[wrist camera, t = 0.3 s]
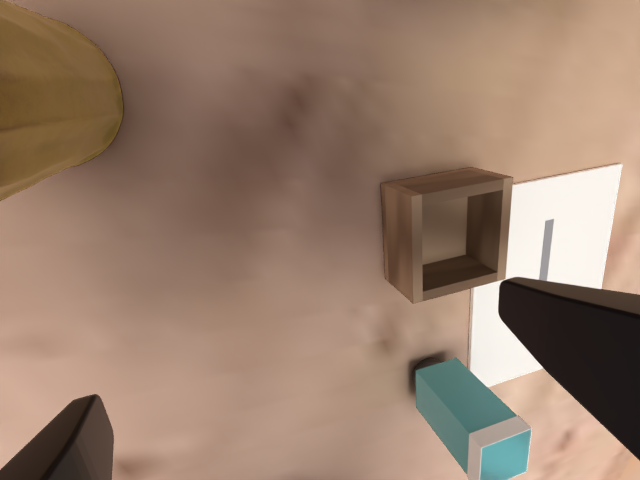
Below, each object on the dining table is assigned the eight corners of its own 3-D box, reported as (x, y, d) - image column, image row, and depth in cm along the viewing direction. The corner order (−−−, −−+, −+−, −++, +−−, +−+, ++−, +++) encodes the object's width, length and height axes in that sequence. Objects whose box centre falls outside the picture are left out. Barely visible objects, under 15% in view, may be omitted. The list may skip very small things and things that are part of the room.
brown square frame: (468, 258, 27) (505, 279, 24) (385, 278, 26) (413, 303, 23) (471, 167, 25) (513, 177, 22) (380, 183, 24) (411, 196, 21)
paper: (587, 350, 35) (590, 352, 34) (466, 391, 32) (469, 393, 31) (618, 163, 29) (623, 163, 29) (474, 191, 26) (478, 192, 26)
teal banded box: (446, 383, 31) (526, 471, 24) (407, 396, 30) (478, 491, 23) (446, 347, 30) (532, 428, 22) (406, 359, 29) (481, 447, 21)
